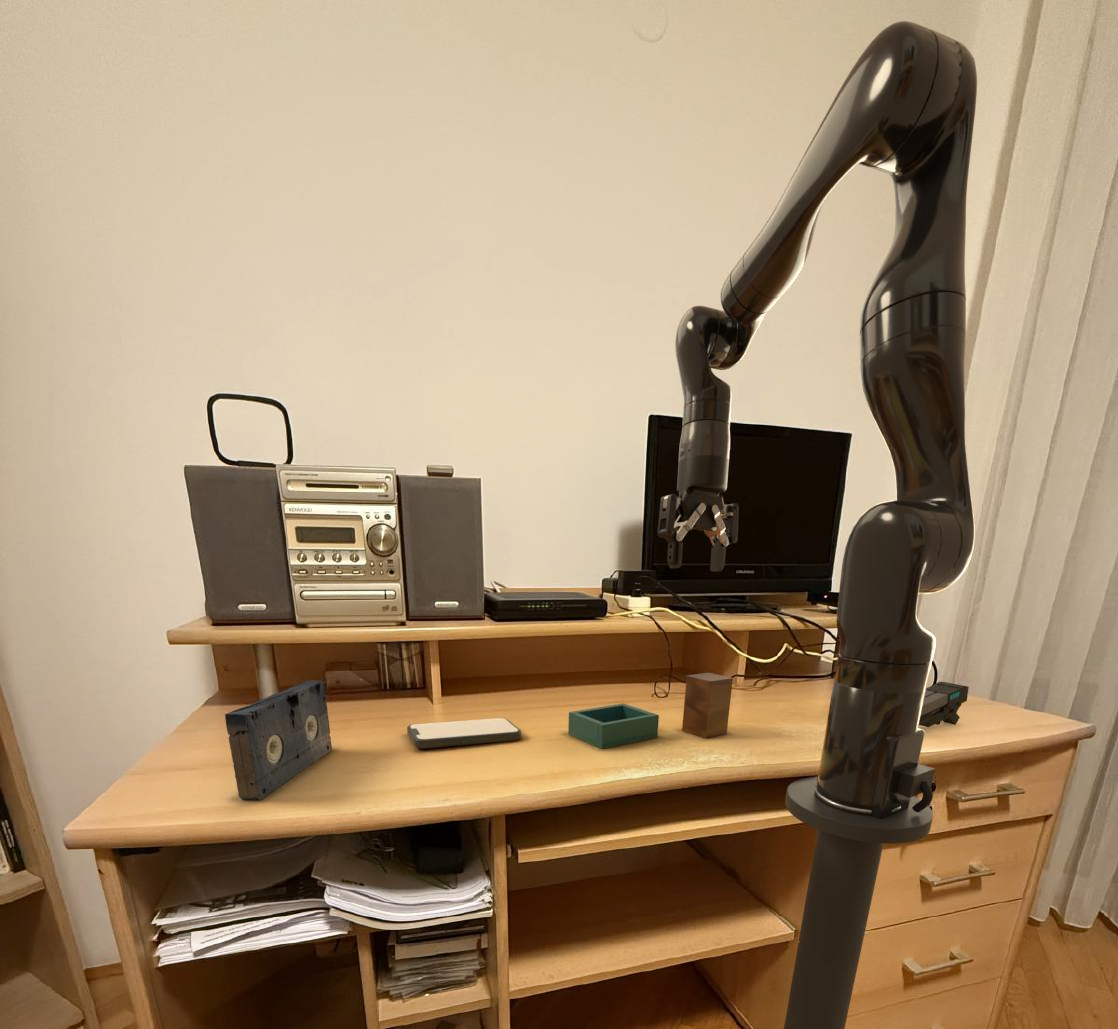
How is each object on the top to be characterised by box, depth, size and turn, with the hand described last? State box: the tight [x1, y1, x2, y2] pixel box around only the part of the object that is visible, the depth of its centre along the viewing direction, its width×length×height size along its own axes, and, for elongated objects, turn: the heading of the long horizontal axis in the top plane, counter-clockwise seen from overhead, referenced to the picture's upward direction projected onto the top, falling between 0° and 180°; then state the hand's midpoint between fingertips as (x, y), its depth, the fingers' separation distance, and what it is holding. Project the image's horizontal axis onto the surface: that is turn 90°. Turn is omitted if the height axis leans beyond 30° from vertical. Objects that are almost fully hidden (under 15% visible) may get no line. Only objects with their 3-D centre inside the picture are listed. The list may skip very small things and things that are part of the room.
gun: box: [918, 681, 970, 728], centre depth 97 cm, size 4×20×10 cm, turn 118°
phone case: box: [406, 717, 522, 749], centre depth 89 cm, size 9×2×16 cm
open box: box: [567, 703, 660, 750], centre depth 91 cm, size 8×11×4 cm
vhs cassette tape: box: [224, 679, 333, 801], centre depth 73 cm, size 18×3×10 cm, turn 174°
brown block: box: [681, 672, 734, 739], centre depth 93 cm, size 5×5×9 cm
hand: (696, 569), depth 93 cm, fingers open, 8 cm apart
